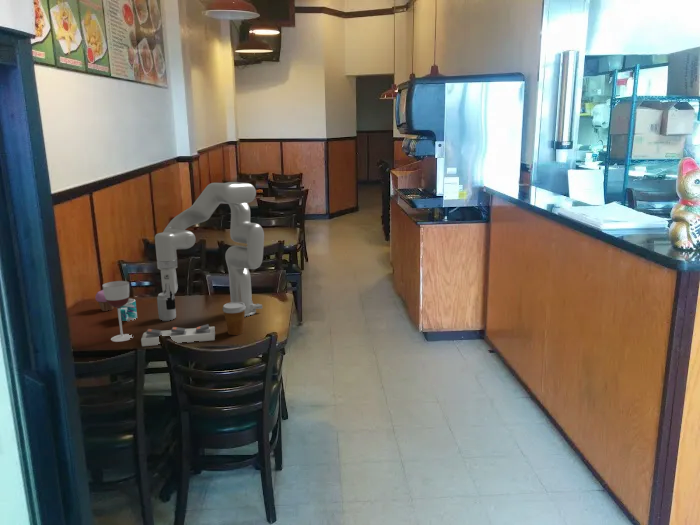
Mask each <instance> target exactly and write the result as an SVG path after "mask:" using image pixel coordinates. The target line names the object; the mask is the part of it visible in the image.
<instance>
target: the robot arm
mask: <svg viewBox="0 0 700 525" xmlns="http://www.w3.org/2000/svg"><path fill="white" fill-rule="evenodd" d="M256 196H257V190H256V188H255V186H254V185H253V184H252V183H248V182H236V181H235V182H233V181H228V182H211V183H209V184H207V186H206V187H204V189H203V191H202V192H201V193H200V194H199V196H198V197H196V198H197V199H195V201H194V203H193V204H192V205H191V206H190V207H188V208H187V209H185V210H183V211H182V212H180V213H179V214H177V215H176V216H174V218H172V219H171V220H170V221H169V223H168V224H166V225H167V226H166V227H165V228H164V230H163V232H158V233H156V234H155V236H154V243H155V254H156V266H157V269H158V270H160V278H161V279H160V280H161V288H162V293H163V294H166V307H167V310H172V309H175V308H176V298H175V295H176V294H177V291H178V289H179V287H178V286H179V285H178V277H177V271H176V269H177V268H178V257H177V256H178V255H177V250H188V249H190V248H192V247H194V245H195V243H196V236H195V233H193V231H191V230H187V229H188V228H190V227H192V226H194V225H197V224H198V225H199V224H201V223H204V222H206V221H208V220H209V219H210V218H211V217H212V215H213V214H214V213H215V211H216V210H217V208H218V207H219V205H220V204H226V205H228V206H229V208H230V229H229V230H230V231H229V235H230V239H231V241H233V242H235V243H238V244H246V246H245V245H244V246H243V245H231V246H230V247H228V249H227V250H226V251H225V255H224V256H225V262H226V266H227V271H228V282H229V292H230V303H231V302H242V303H244V304H245V306H246V308H245V315H244V318H246V316H247V317H250V315H251V316H253V315H255V314H256V313H257V310H258V309H259V310H260V309H261V310H262V309H263V304H260V303H254V301H253V300H252V299H253V297H252V282H251V281H252V280H251V279H252V278H251V272H250V270H256V269H258V268H260V267H261V266H262V263H263V259H264V248H265V246H264V244H265V231H264V228H263V227H262V226H261V225H260V224H259V223H256V222H251V208H250V206H249V203H251V202H253V201H254V200H255V199H256ZM174 298H175V299H174ZM256 309H257V310H256Z"/></svg>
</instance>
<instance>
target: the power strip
mask: <svg viewBox="0 0 700 525" xmlns="http://www.w3.org/2000/svg"><path fill="white" fill-rule="evenodd" d="M215 330H216V327H215V326H209V329H206V330H203V331H199V332H196V327H194V328H185V332H184V333H177V332H171V331H172V329H169V330H161V333H160V335H162V336H170V337H171V339H172V340H173V341H175V342H177V343H176V344H183V343H182V342H187V343H195V342H194V341H199V342H207V341H209V342H211V341H215V340H216V339H215V338H216V331H215ZM146 333H147V331H145V332H143V334H142V336H141V339H140V342H141V347H149V346H150V347H151V346H152V347H153V346H159V345H158V344H160V342H159V336H160V335H152V334H146Z"/></svg>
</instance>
